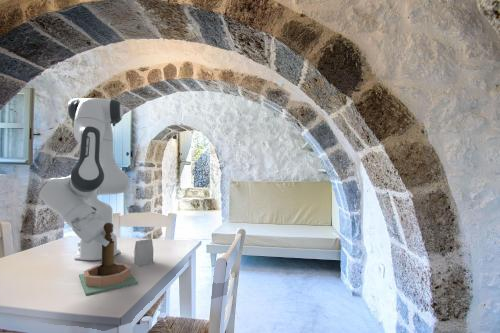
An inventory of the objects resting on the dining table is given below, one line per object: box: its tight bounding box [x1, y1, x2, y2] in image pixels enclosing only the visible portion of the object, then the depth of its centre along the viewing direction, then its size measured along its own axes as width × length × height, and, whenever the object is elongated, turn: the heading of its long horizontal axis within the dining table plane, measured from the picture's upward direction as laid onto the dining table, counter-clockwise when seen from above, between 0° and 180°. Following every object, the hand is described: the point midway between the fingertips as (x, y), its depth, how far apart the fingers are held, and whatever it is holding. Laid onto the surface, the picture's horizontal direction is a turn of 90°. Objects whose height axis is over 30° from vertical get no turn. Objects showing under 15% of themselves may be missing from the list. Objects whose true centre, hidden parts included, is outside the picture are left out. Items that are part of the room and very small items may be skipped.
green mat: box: [78, 272, 139, 296], centre depth 104 cm, size 20×16×1 cm
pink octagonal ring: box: [83, 262, 132, 287], centre depth 104 cm, size 14×14×3 cm
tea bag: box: [133, 238, 154, 267], centre depth 122 cm, size 4×7×10 cm, turn 130°
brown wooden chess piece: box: [97, 223, 118, 276], centre depth 104 cm, size 7×6×18 cm
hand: (109, 242), depth 104 cm, fingers closed on brown wooden chess piece, 4 cm apart
